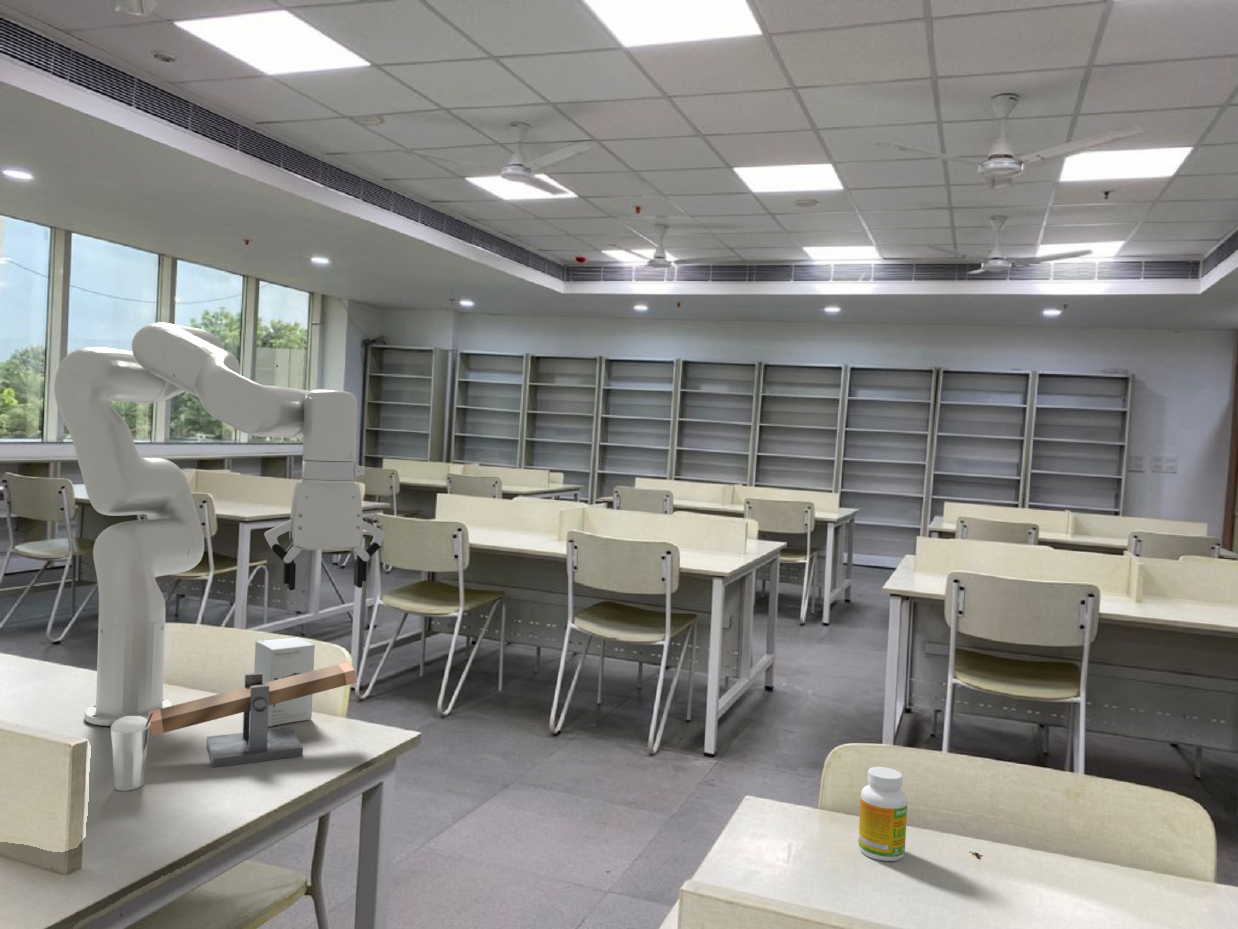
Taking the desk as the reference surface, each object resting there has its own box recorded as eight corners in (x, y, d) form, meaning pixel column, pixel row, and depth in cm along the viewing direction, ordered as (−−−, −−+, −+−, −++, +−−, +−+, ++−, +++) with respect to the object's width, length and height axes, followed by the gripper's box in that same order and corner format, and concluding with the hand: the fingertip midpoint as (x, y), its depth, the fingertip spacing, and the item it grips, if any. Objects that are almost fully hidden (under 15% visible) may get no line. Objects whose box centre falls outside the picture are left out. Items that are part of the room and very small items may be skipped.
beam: (151, 736, 122) (149, 722, 122) (150, 725, 127) (148, 711, 126) (356, 682, 136) (354, 669, 135) (349, 674, 140) (347, 662, 140)
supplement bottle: (897, 867, 103) (902, 784, 103) (852, 854, 106) (856, 773, 106) (909, 850, 108) (913, 771, 108) (865, 838, 111) (869, 761, 111)
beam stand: (212, 767, 124) (215, 693, 124) (206, 744, 133) (209, 675, 132) (302, 756, 130) (305, 684, 129) (291, 735, 138) (293, 668, 138)
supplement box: (267, 728, 141) (270, 649, 141) (251, 716, 147) (254, 640, 146) (313, 720, 146) (315, 644, 146) (295, 708, 152) (298, 635, 151)
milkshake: (136, 796, 113) (139, 718, 113) (100, 791, 114) (102, 714, 114) (161, 783, 118) (164, 708, 118) (126, 778, 119) (129, 704, 119)
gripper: (381, 473, 139) (378, 581, 140) (263, 470, 131) (260, 586, 132) (392, 475, 133) (389, 589, 133) (269, 473, 125) (265, 594, 125)
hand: (325, 587), depth 132 cm, fingers open, 9 cm apart
